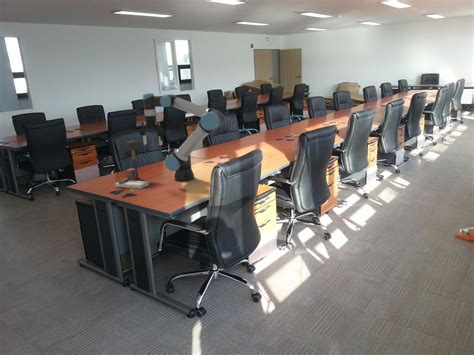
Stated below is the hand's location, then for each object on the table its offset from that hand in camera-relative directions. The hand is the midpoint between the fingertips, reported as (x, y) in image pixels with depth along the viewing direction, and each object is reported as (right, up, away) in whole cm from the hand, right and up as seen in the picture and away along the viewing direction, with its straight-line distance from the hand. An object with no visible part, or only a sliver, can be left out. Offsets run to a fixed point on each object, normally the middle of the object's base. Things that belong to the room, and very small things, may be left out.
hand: (153, 144), depth 289 cm
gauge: (-21, -29, +7) cm, 36 cm away
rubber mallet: (-18, -25, +23) cm, 38 cm away
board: (-16, -30, +2) cm, 34 cm away
